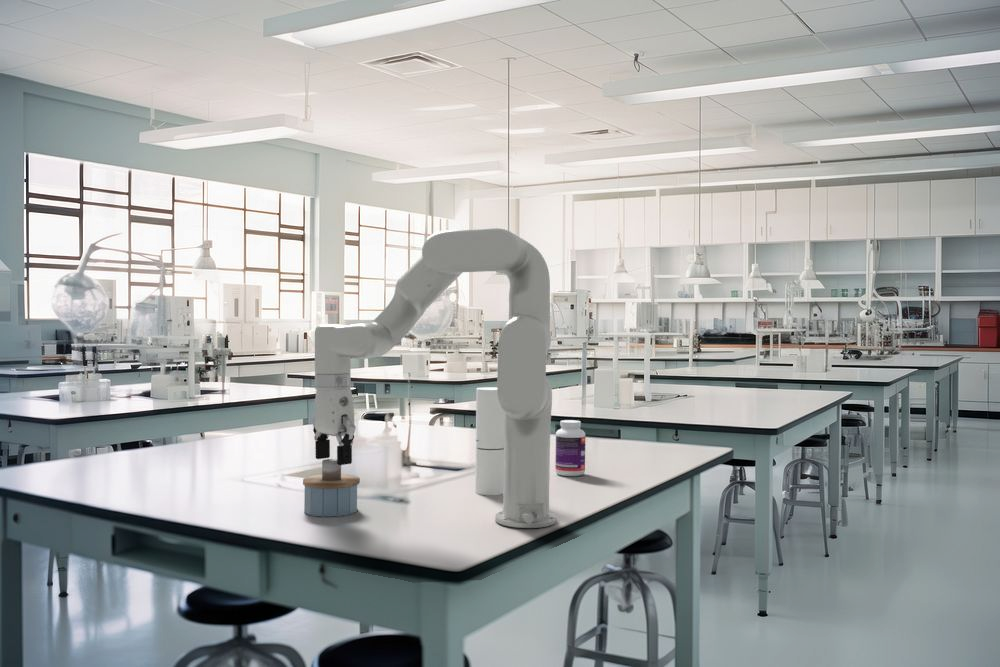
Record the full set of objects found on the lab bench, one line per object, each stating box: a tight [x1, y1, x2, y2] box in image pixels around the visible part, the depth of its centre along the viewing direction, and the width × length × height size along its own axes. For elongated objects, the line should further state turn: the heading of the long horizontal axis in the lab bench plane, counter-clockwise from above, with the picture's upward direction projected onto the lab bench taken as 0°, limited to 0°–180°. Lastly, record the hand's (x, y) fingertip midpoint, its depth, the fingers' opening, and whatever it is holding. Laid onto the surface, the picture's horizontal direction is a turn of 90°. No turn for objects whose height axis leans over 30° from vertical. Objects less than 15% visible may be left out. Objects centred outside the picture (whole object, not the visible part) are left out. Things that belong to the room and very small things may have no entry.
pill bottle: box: [554, 419, 586, 477], centre depth 222 cm, size 8×8×14 cm
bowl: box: [303, 485, 358, 518], centre depth 177 cm, size 11×11×6 cm
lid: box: [302, 458, 361, 489], centre depth 177 cm, size 12×12×5 cm
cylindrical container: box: [474, 386, 505, 496], centre depth 198 cm, size 7×7×25 cm
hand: (333, 461), depth 177 cm, fingers open, 9 cm apart
